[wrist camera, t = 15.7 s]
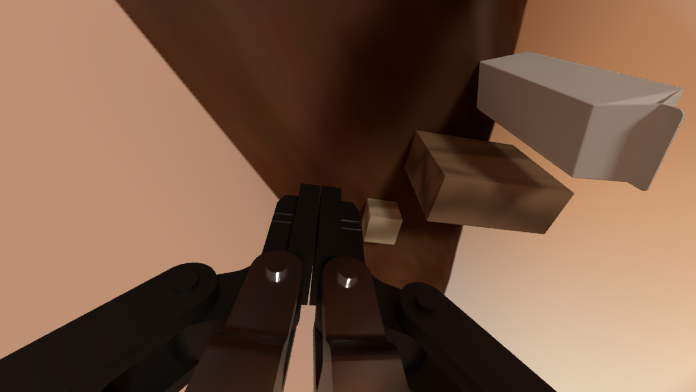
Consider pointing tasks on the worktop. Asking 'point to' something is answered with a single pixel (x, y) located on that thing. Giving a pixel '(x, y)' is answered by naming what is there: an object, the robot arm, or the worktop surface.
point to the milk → (582, 115)
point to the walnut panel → (482, 184)
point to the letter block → (381, 221)
